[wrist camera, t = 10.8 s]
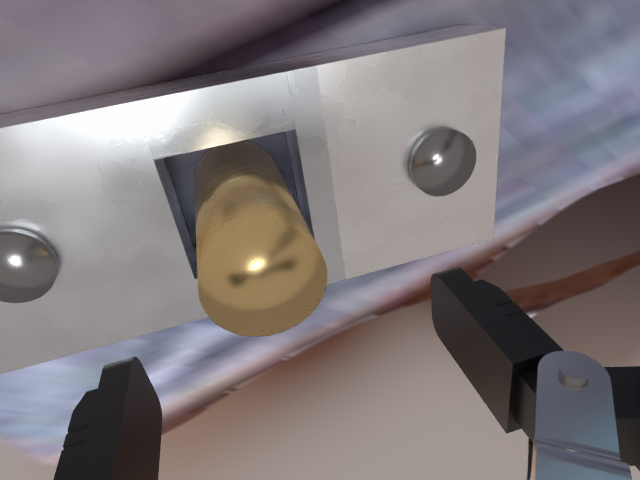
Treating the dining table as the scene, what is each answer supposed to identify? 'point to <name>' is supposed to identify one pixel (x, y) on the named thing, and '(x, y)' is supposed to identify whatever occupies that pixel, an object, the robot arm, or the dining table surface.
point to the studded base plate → (228, 127)
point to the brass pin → (253, 244)
